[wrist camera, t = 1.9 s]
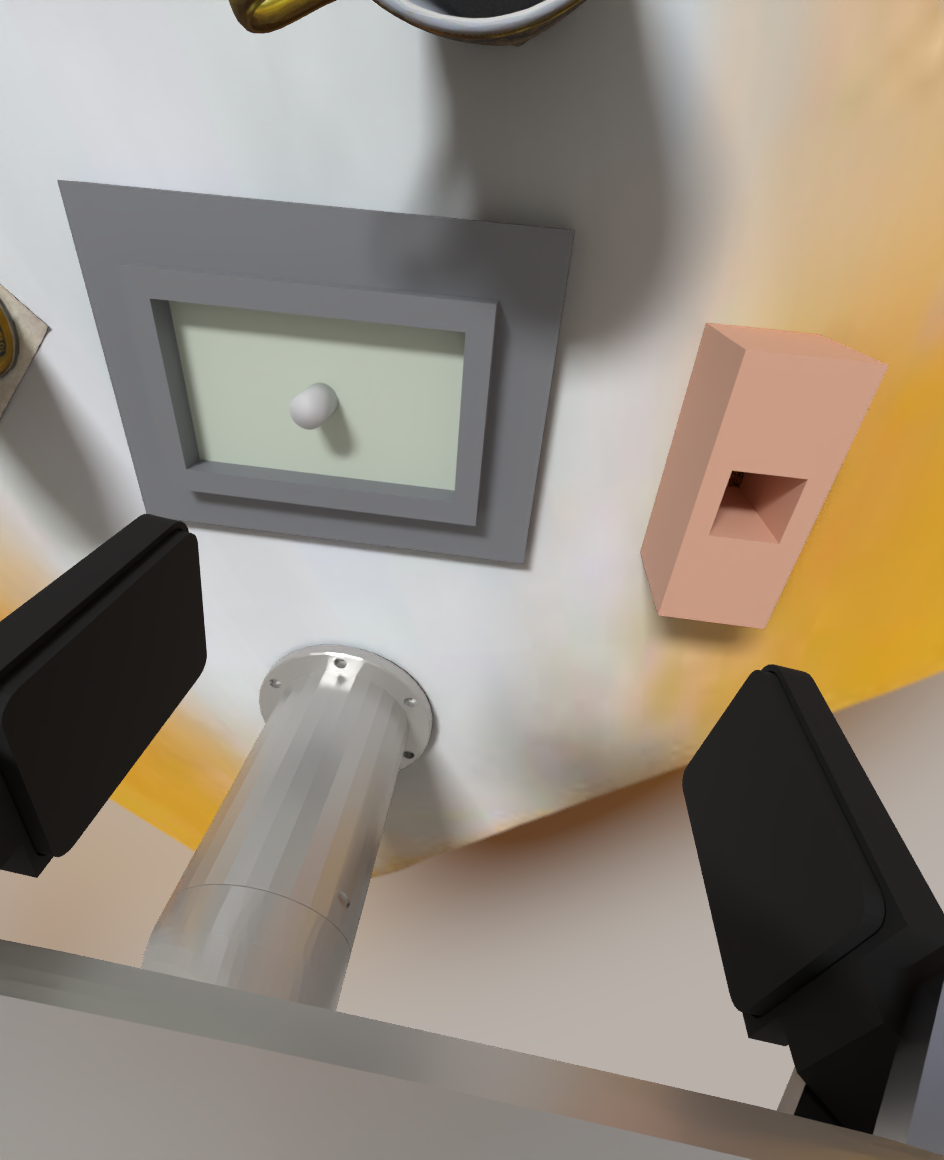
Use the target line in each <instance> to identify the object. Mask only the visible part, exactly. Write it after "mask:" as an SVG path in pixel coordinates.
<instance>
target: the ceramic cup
mask: <svg viewBox="0 0 944 1160" xmlns="http://www.w3.org/2000/svg"><path fill="white" fill-rule="evenodd" d="M334 1H336V0H229V2H230V5H231V8H232V10H233V13H234V15H235V17H236V18H237V20H238V22H239V23H240V24H241V25H242V26H243V27H244V28H245V29H246V30H247V31H249V32H252V33H269V32H272V31H275V30H278V29H281V28H283V27H285V26H287V25H289V24H291V23H293V22H295V21H297V20H299V19H300V18H302V17H304V16H306V15H308V14H310V13H312V12H314V11H315V10H317V9H319V8H321V7H323V6H325V5H327V4H329V3H332V2H334ZM373 1H374V2H375V3H377V4H378V5H379V6H380V7H382V8H383V9H385V10H386V11H388V12H389V13H391V14H393V15H394V16H396V17H398V18H400V19H401V20H403V21H405V22H407V23H409V24H411V25H413V26H415V27H417V28H420V29H422V30H424V31H427V32H429V33H432V34H435V35H438V36H441V37H445V38H448V39H452V40H456V41H461V42H466V43H473V44H481V45H492V46H506V45H513V46H521V45H523V44H524V43H525V42H526V41H528V40H529V39H530V38H532V37H534V36H536V35H538V34H540V33H541V32H543V31H545V30H547V29H548V28H550V27H551V26H553V25H554V24H556V23H557V22H558V21H560V20H561V19H563V18H564V17H565V16H567V15H568V14H569V13H571V12H572V11H573V10H575V9H576V8H577V7H579V6H580V5H581V4H582V3H584V2H585V1H586V0H373Z"/></svg>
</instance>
